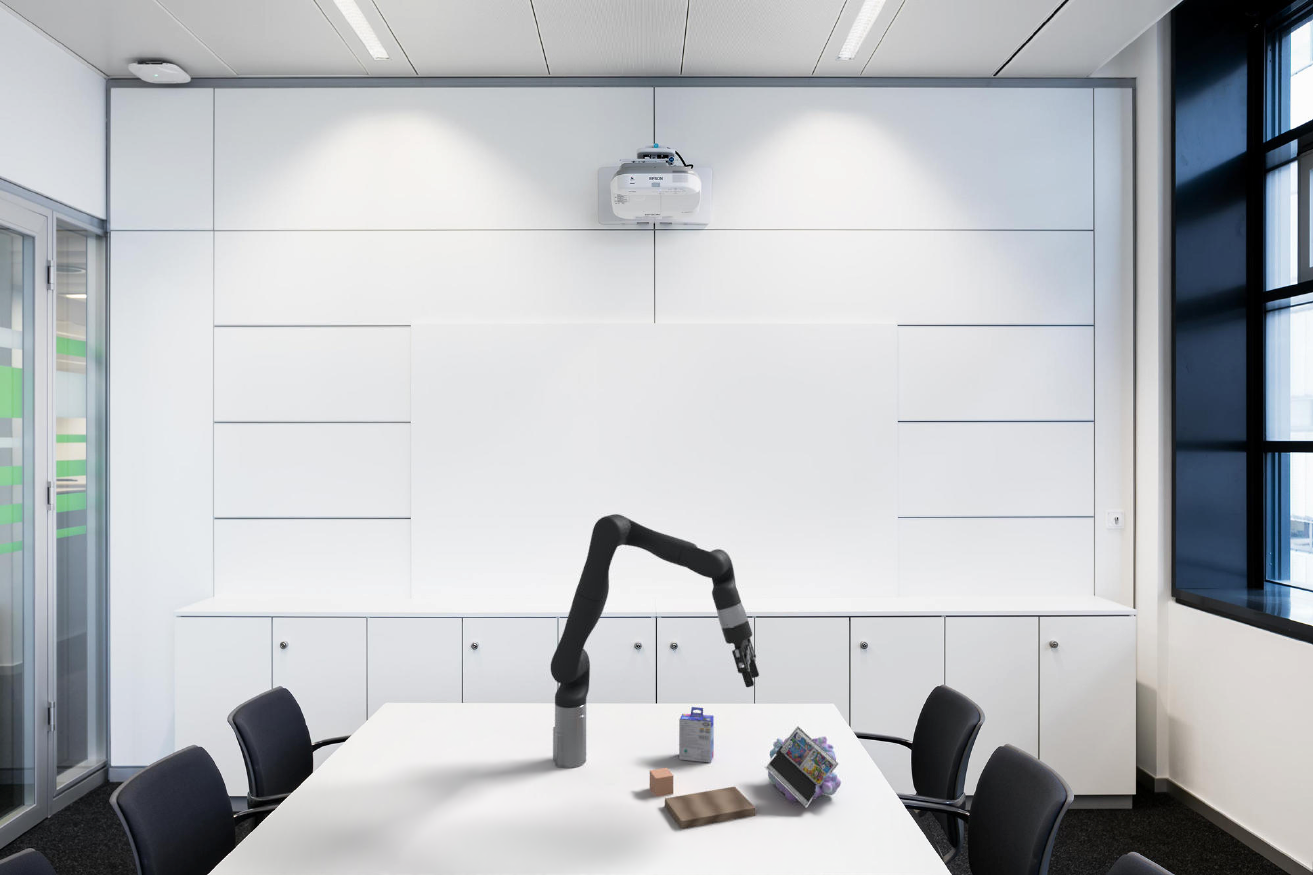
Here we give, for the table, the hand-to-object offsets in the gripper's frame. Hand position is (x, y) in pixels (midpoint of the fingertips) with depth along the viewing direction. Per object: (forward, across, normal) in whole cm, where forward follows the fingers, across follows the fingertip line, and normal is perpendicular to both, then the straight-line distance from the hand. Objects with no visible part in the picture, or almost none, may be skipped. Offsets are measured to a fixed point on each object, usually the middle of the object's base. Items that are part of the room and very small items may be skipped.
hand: (752, 681), depth 199 cm
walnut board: (+26, +11, -18) cm, 34 cm away
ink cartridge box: (+22, -18, -28) cm, 40 cm away
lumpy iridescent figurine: (+33, -6, +2) cm, 34 cm away
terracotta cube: (+21, +4, -32) cm, 39 cm away
